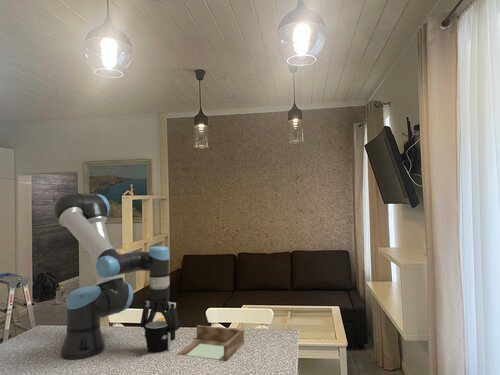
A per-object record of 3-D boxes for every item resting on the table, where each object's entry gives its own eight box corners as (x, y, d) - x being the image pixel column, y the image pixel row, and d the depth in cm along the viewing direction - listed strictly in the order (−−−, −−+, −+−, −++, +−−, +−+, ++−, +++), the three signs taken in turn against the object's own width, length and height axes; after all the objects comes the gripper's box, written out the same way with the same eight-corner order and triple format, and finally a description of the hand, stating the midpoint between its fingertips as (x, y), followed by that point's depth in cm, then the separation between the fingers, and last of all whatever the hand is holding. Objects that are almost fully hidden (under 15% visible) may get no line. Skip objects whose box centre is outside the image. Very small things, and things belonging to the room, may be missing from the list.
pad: (185, 355, 124) (185, 354, 124) (200, 344, 134) (200, 343, 134) (219, 359, 119) (219, 359, 120) (231, 347, 130) (231, 347, 130)
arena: (176, 357, 125) (175, 340, 125) (198, 340, 141) (198, 325, 141) (227, 363, 118) (226, 345, 119) (244, 345, 134) (244, 329, 135)
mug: (162, 357, 125) (162, 328, 126) (140, 355, 127) (140, 327, 128) (177, 344, 137) (177, 318, 137) (156, 343, 139) (156, 317, 139)
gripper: (129, 288, 133) (130, 348, 132) (178, 290, 126) (179, 354, 125) (142, 284, 141) (142, 341, 139) (189, 286, 134) (189, 346, 132)
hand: (160, 347), depth 132 cm, fingers closed on mug, 9 cm apart
